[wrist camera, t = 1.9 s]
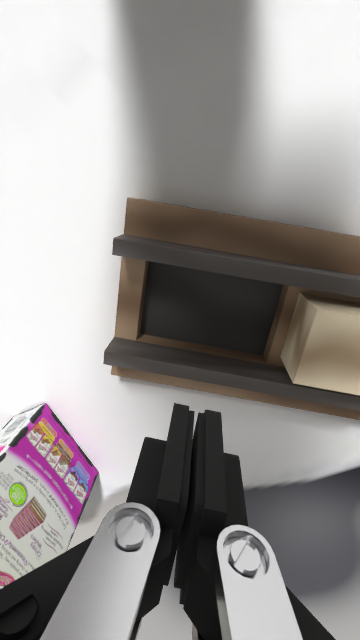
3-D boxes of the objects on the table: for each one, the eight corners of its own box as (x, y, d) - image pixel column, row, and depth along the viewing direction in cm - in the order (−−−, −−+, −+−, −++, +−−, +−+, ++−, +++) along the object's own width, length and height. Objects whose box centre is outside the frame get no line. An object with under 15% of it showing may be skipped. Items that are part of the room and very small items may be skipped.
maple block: (299, 292, 26) (317, 309, 22) (372, 305, 26) (404, 324, 22) (280, 356, 28) (292, 383, 24) (347, 368, 28) (371, 397, 24)
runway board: (132, 197, 26) (116, 196, 22) (592, 276, 26) (678, 292, 21) (116, 364, 32) (101, 391, 27) (491, 432, 31) (541, 473, 27)
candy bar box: (11, 415, 36) (-138, 577, 20) (46, 400, 34) (-85, 558, 19) (67, 485, 39) (-26, 671, 23) (100, 472, 37) (26, 660, 22)
